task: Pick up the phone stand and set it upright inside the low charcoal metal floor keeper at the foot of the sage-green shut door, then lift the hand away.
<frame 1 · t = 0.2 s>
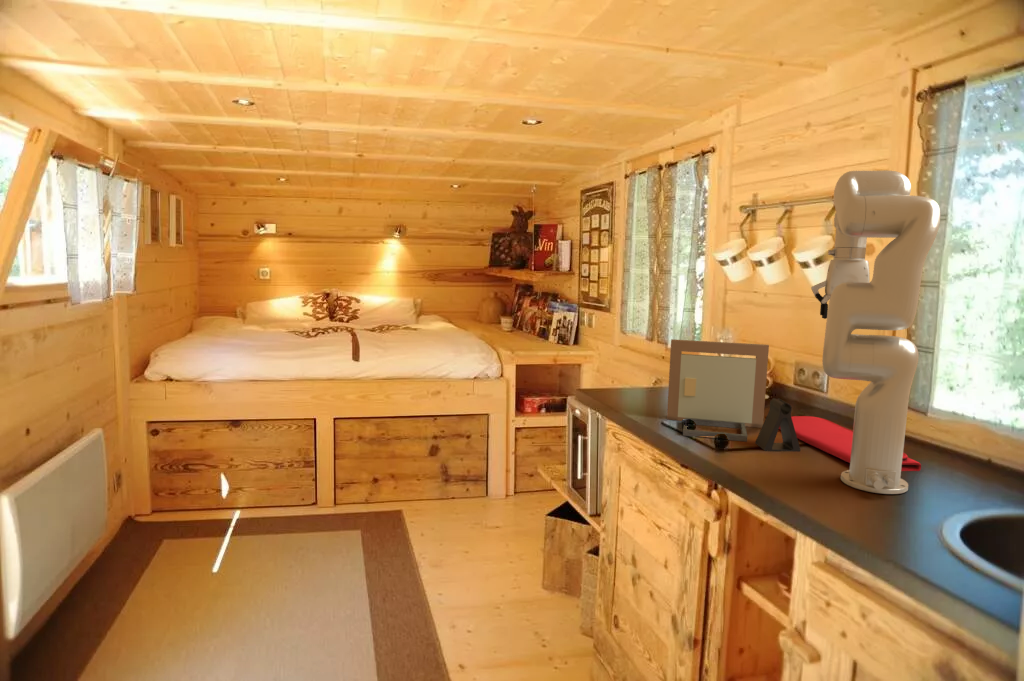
hand: (843, 319, 181), 31 cm above the counter, fingers open, 9 cm apart
dish drying mat: (837, 447, 172), on the counter
floor keeper: (714, 431, 182), on the counter
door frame: (713, 422, 191), on the counter
phone stand: (777, 448, 168), on the counter
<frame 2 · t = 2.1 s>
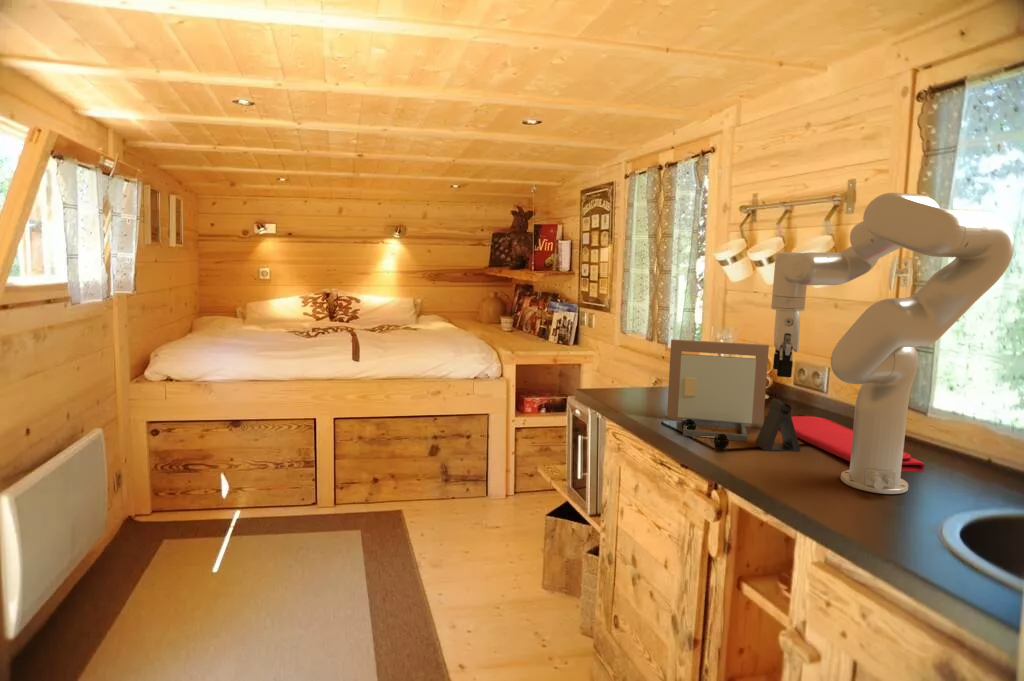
hand: (781, 372, 166), 19 cm above the counter, fingers open, 9 cm apart
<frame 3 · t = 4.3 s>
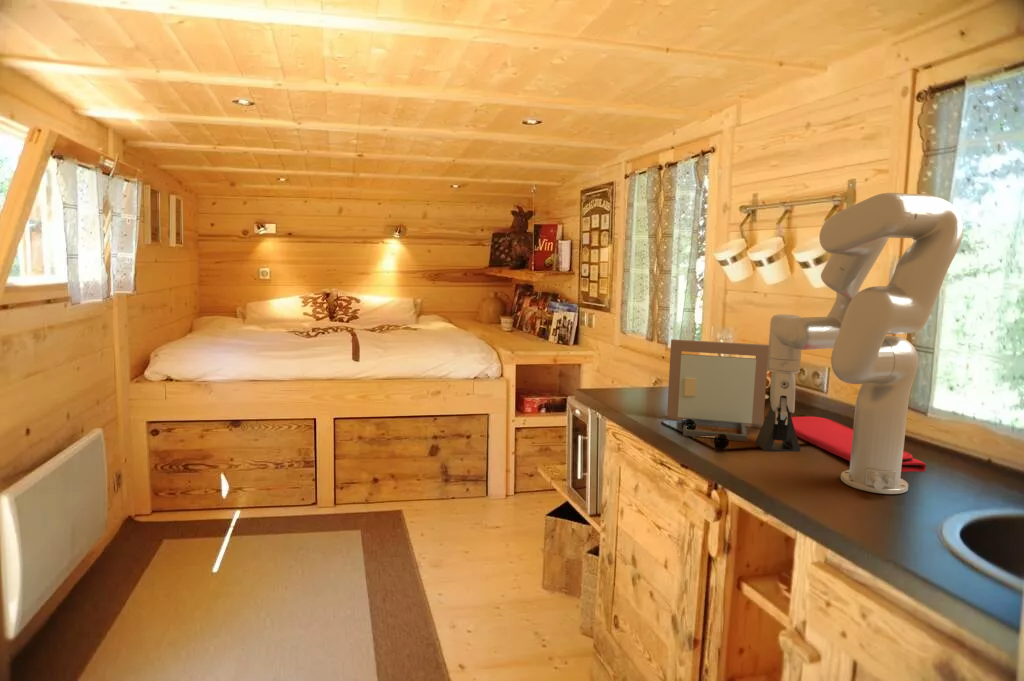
hand: (778, 435, 168), 3 cm above the counter, fingers closed on phone stand, 6 cm apart
phone stand: (777, 448, 168), on the counter, touching gripper
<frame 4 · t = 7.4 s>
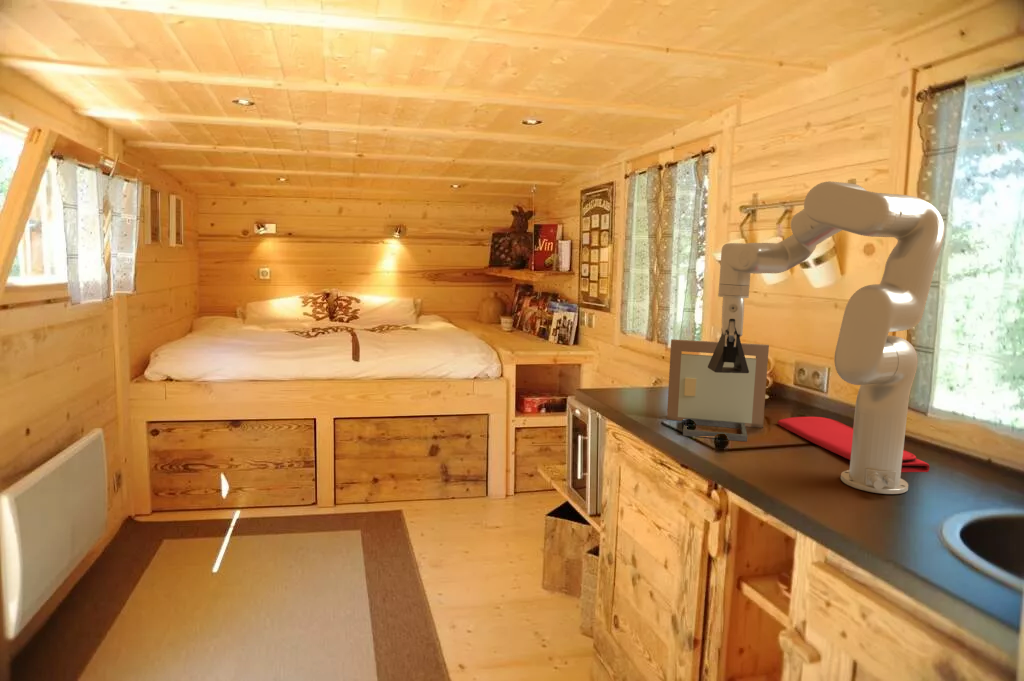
hand: (728, 359, 177), 20 cm above the counter, fingers closed on phone stand, 6 cm apart
phone stand: (727, 371, 178), point 17 cm above the counter, touching gripper
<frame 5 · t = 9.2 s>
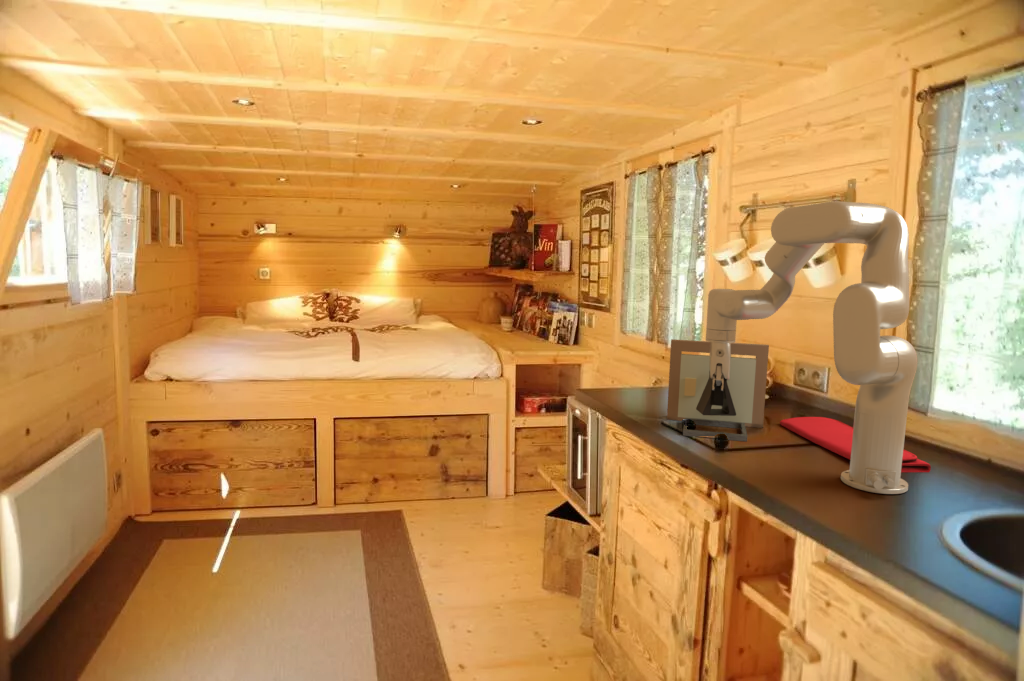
hand: (716, 401, 181), 8 cm above the counter, fingers closed on phone stand, 6 cm apart
phone stand: (715, 413, 181), point 5 cm above the counter, touching gripper
when the fingers open (4 cm above the counter, at t = 10.5 s): phone stand drops 1 cm, resting in floor keeper.
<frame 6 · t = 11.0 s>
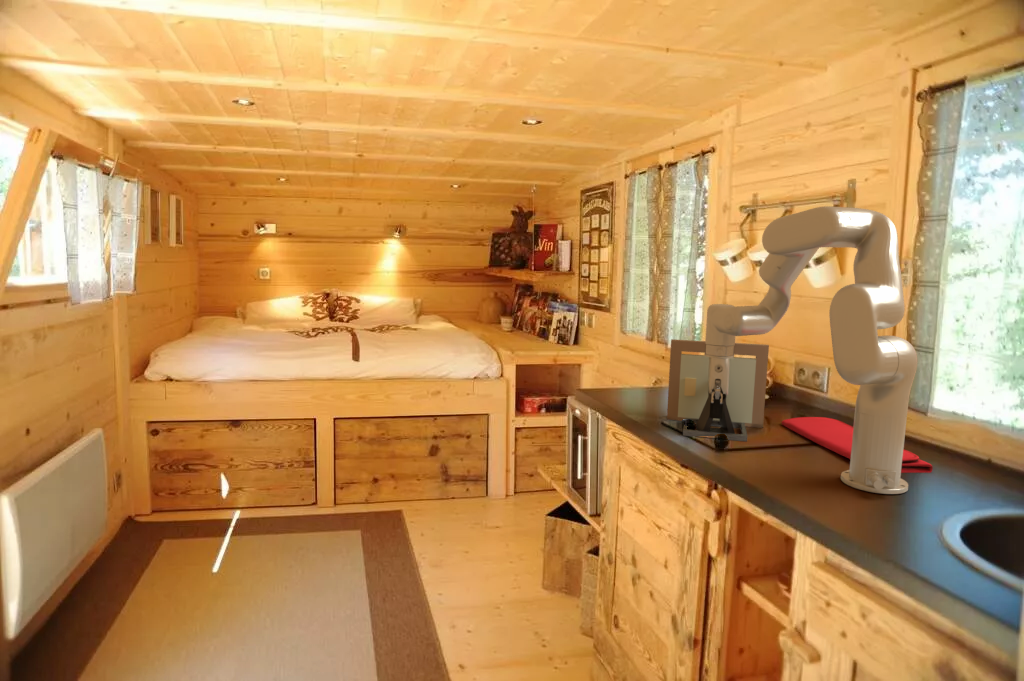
hand: (715, 413, 181), 5 cm above the counter, fingers open, 9 cm apart
phone stand: (714, 432, 182), resting in floor keeper
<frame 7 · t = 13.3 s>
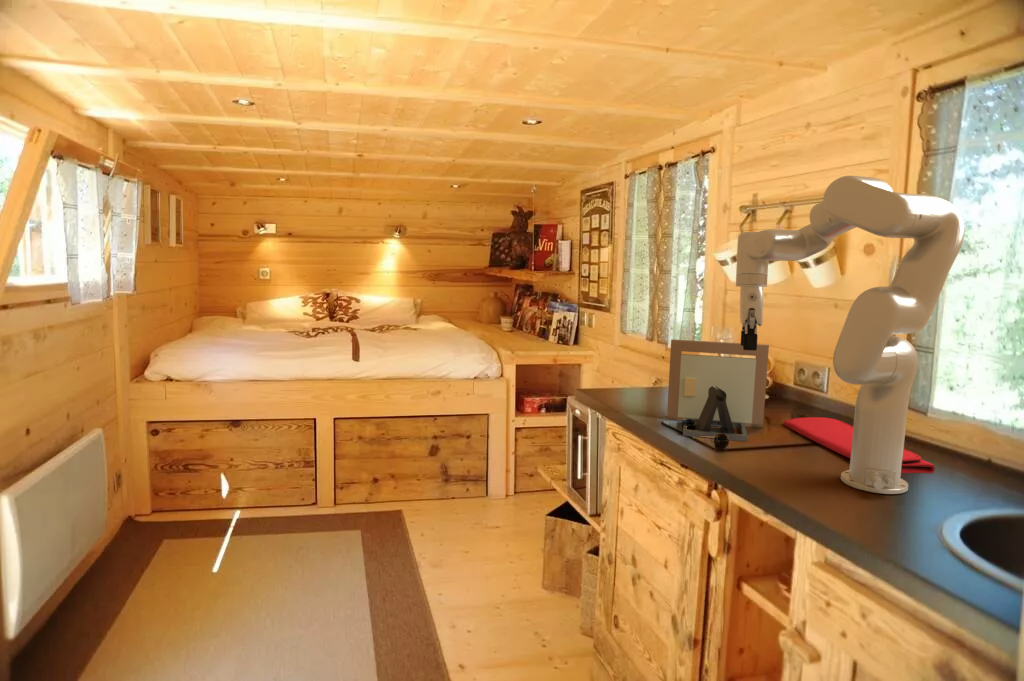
hand: (748, 347, 173), 24 cm above the counter, fingers open, 9 cm apart
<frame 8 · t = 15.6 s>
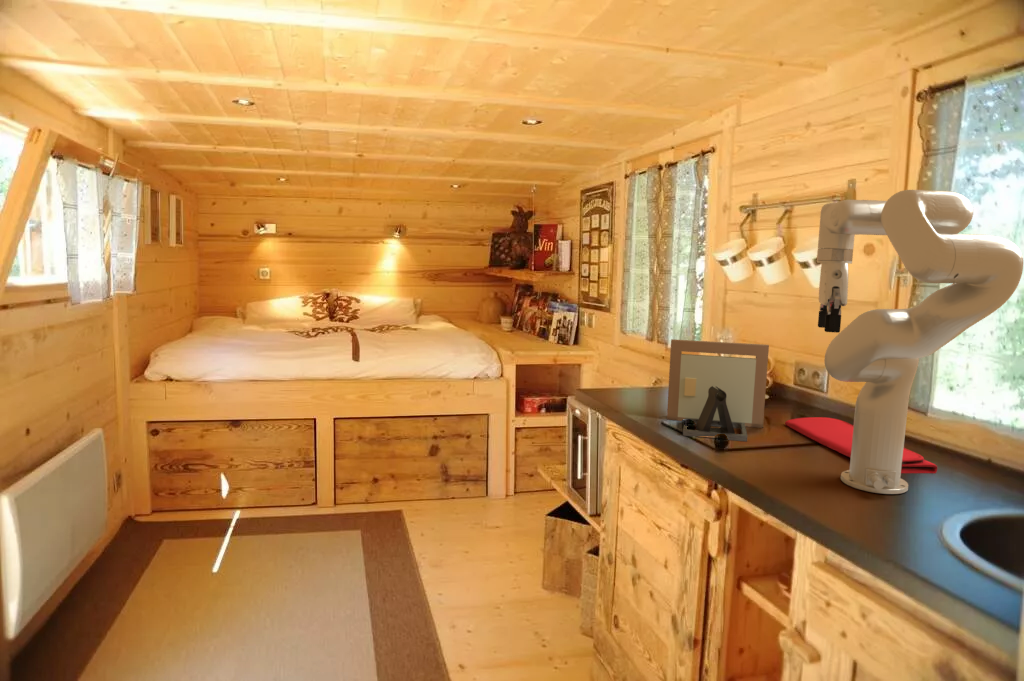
hand: (828, 329, 160), 30 cm above the counter, fingers open, 9 cm apart
at the end: phone stand 0.2 cm off-centre on the floor keeper, point 0.0 cm above the floor keeper's base; phone stand tilted 0°; the gripper is holding nothing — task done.
